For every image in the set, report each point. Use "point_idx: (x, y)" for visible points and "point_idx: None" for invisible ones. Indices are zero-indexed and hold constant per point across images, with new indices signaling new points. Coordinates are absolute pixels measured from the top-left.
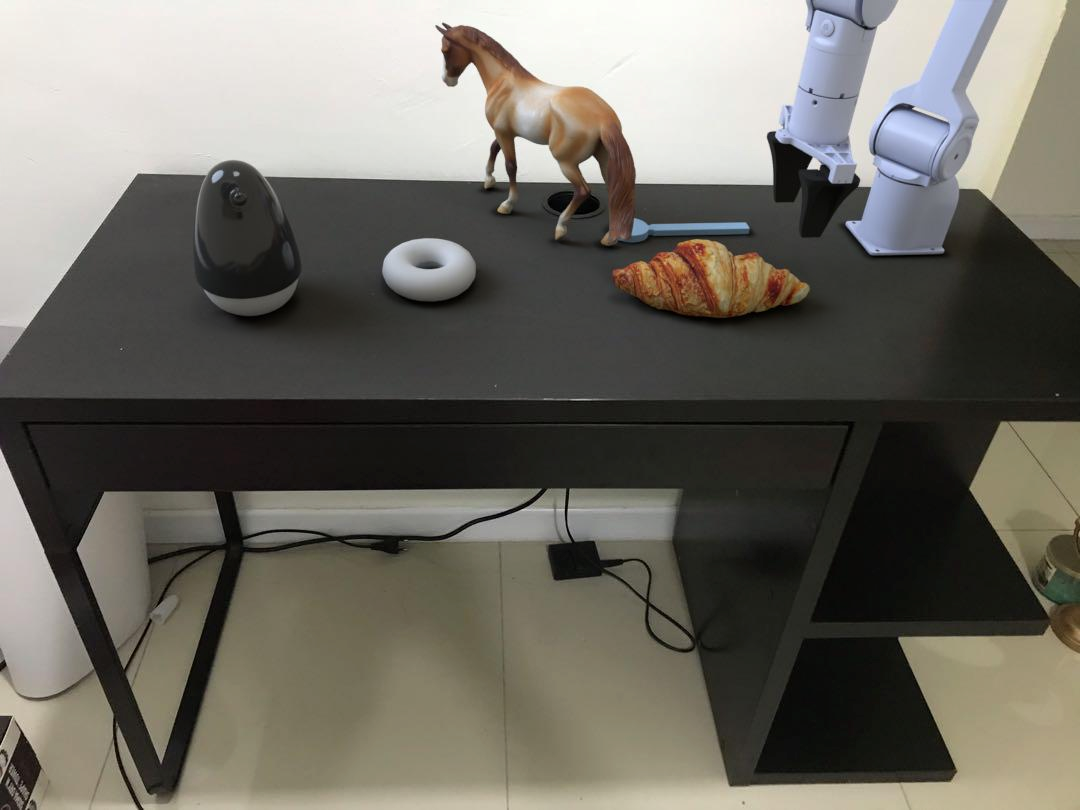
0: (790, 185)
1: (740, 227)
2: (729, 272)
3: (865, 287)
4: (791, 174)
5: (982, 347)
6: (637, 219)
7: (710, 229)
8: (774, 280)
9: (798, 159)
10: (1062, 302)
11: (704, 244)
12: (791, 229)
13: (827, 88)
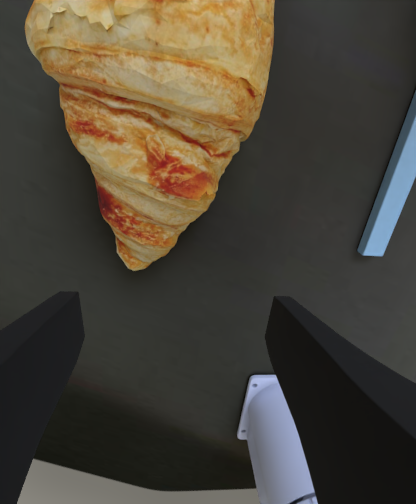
0: (288, 360)
1: (371, 241)
2: (75, 74)
3: (181, 344)
4: (306, 390)
5: None
6: None
7: (388, 187)
8: (113, 207)
9: (332, 463)
10: (136, 481)
11: (171, 5)
12: (345, 312)
13: None
